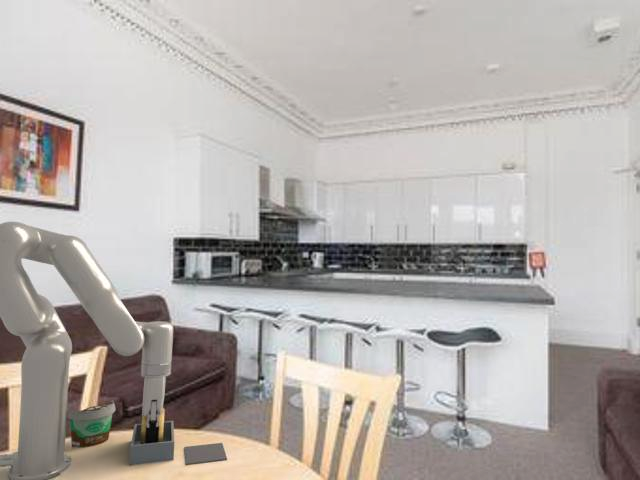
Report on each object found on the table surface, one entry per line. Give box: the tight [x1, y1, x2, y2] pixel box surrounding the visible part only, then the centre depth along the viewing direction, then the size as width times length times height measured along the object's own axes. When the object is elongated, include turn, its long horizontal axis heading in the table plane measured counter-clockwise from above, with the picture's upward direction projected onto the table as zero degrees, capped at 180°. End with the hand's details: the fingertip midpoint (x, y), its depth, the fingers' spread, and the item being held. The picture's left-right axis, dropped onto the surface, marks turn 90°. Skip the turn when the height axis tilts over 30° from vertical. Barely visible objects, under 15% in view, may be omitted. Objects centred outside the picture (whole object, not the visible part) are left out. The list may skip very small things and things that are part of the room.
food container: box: [67, 399, 116, 448], centre depth 118 cm, size 12×6×10 cm, turn 143°
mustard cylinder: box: [140, 407, 166, 444], centre depth 114 cm, size 6×6×10 cm
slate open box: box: [129, 420, 175, 466], centre depth 114 cm, size 10×15×5 cm
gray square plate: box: [184, 442, 228, 466], centre depth 113 cm, size 10×10×1 cm
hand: (152, 437), depth 114 cm, fingers closed on mustard cylinder, 5 cm apart
